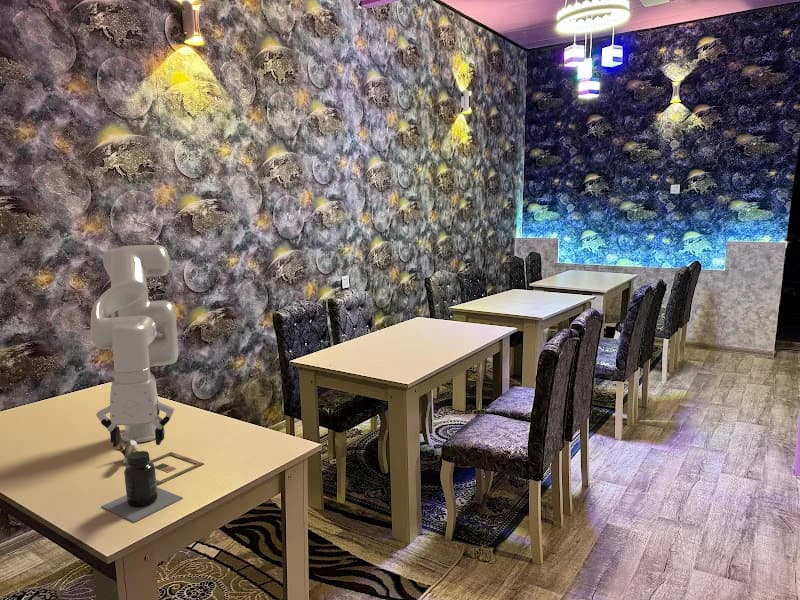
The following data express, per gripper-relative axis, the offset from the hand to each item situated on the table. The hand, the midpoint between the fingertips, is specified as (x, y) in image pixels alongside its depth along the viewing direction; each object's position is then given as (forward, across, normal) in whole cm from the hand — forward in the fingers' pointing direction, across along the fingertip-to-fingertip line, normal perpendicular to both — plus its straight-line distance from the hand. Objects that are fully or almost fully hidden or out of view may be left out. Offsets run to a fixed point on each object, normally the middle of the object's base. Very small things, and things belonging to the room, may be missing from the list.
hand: (138, 443), depth 139 cm
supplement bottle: (+15, 0, -1) cm, 15 cm away
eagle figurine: (+16, -10, +23) cm, 29 cm away
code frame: (+15, +1, +18) cm, 24 cm away
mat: (+15, 0, -1) cm, 15 cm away
